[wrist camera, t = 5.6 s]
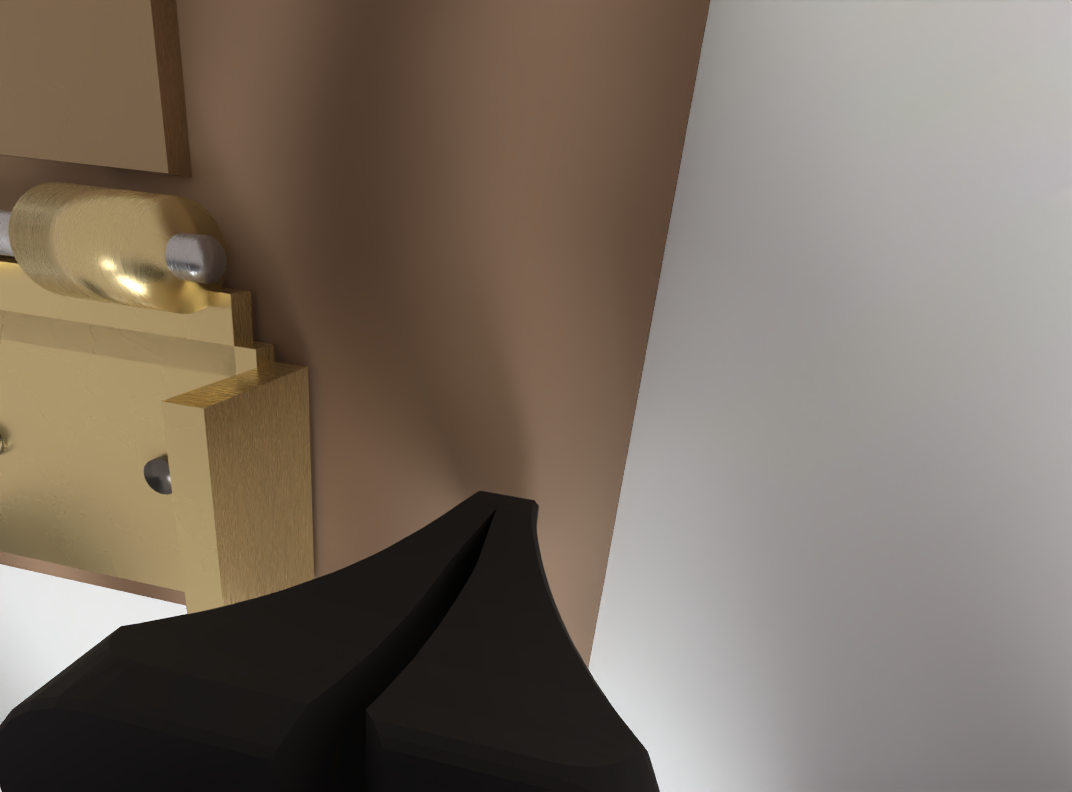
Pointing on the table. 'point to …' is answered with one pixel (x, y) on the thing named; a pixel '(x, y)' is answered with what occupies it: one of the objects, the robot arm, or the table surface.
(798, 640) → the table surface
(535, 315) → the plank
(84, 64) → the hinge base
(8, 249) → the leaf
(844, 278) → the table surface
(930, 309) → the table surface
